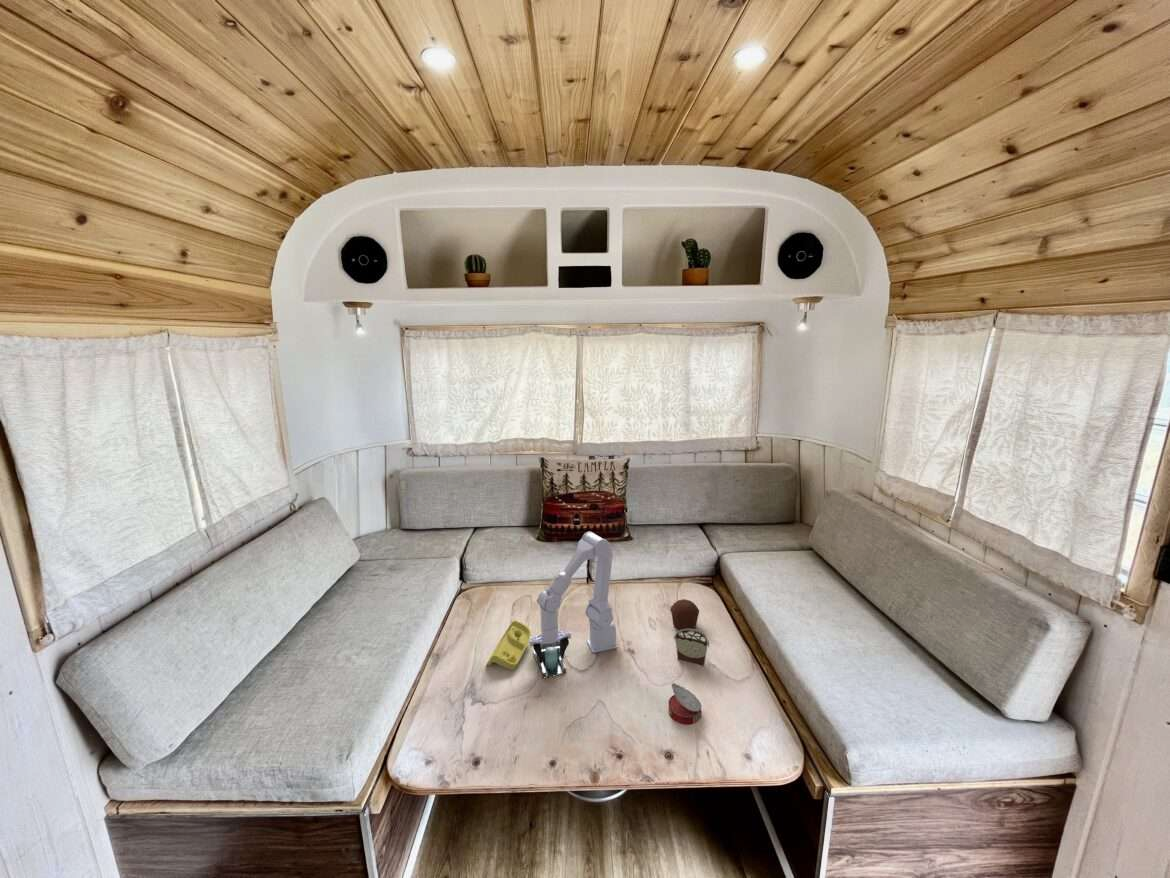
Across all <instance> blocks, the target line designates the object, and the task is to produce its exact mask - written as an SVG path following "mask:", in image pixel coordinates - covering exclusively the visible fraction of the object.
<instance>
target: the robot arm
mask: <svg viewBox="0 0 1170 878" xmlns="http://www.w3.org/2000/svg"><path fill="white" fill-rule="evenodd" d="M613 555H614V554H613V551H612V543H610V542H609V541H608V540H607V539H605V538H602V537H601V536H599V535H597V534H596V533H594V532H592V531H587V532H585V533H584V534H583V535H582V537H581V538H580V540H579V541H578V545H577V549H576V550H575V552H574V554H572V556H571V558H570V560H569V561H568V564H567V565H566V567H565V568H564V570H563V571H561V572H558V573H557V574H556V575H555V576H554V577H553V579H552V581H551V582H550V583H549V585H548V586H547V588H546V589H545V590H543V591H541V592H540V593H539V594H538V597H537V599H536V602H537V604H538V606H539V607H540V622H541V623H540V625H541V626H540V627H541V633H540V634H538V635H536V636H534V637H530V639H529V642H528V644H529V647H530V648H531V647H532V648H533V650H535V652H536V653H537V655H538V658H539V662H540V664H542V657H541V652H542V649H541V645H540V644H541V643H554V642H557V641H559V642H560V657H561V659H562V660H563V659H564V656H565V652H566V649H567V648H568V646H569V643H570V642H569V640H570V639H572V632H571V631H570V630H559V623H558V621H559V620H558V618H559V617H558V609H559V608H560V606H561V602H562V601H561V600H562V597H563V595H564V594H566V591H567V590H568V589H569V587H570V585H571V584H572V578H573V576H574V575H575V573H576V572H578V570H579V569H580V567H581V566H582V565H583V564H584V563H585V561H588V560H595V559H596V568H595V577H594V587H593V594H592V598H590V599H588V604H587V607H586V608H585V616H586V617H587V618H588V622H589V638H588V639H586V642H587V645H588V646H589V648H590V650H591V653H593V654H596V653H599V652H605V651H608V650H609V651H610V650H613V649H617V648H618V646H617V630H616V624H615V622H614V621H613V620H614V615H613V613H612V611H613V608H612V606H611V604H610V602H609V592H610V582H611V574H612V566H613V565H612V564H613Z"/></svg>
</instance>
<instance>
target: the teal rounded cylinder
mask: <svg viewBox="0 0 1170 878" xmlns="http://www.w3.org/2000/svg"><path fill="white" fill-rule="evenodd" d="M545 667H546V669H548V670H554V669H556V668H557V667H558V656H557V649H556V648H555V647H548V648H546V649H545Z"/></svg>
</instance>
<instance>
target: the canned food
mask: <svg viewBox="0 0 1170 878" xmlns="http://www.w3.org/2000/svg"><path fill="white" fill-rule="evenodd" d="M671 688H672V692H673V693H674V694H673V695H672V696H670V698H669V700H668V715H669V716H670V718H671V719H672V720H673V721H674V722H676V723H678V724H680V725H685V726H690V725H694V724H695V725H696V723H698V722H699V721H700V719H701V718H702V703H701V701H700V700H699V699H698V698H697V696H696V695H695V694H694V693H692V692H691V691H690V690H689V689H686V687H684V686H681V685H679V684H677V683H676V682H675V683H674V682H672V684H671Z"/></svg>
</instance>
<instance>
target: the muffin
mask: <svg viewBox="0 0 1170 878" xmlns="http://www.w3.org/2000/svg"><path fill="white" fill-rule="evenodd" d="M669 611H670V612H671V618H672V624H673V628H675V629H676V630H677V631H679V630H682V629H696V627H697V624H698V623H697V622H698V619H699V614H700V609H699V608H698V606H697V605H696V604H695V602H693V601H691V600H689V599H684V598H683V599H679V600H676V601H675V602H674V603H673V604H672V605H671V606H670V610H669Z"/></svg>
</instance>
